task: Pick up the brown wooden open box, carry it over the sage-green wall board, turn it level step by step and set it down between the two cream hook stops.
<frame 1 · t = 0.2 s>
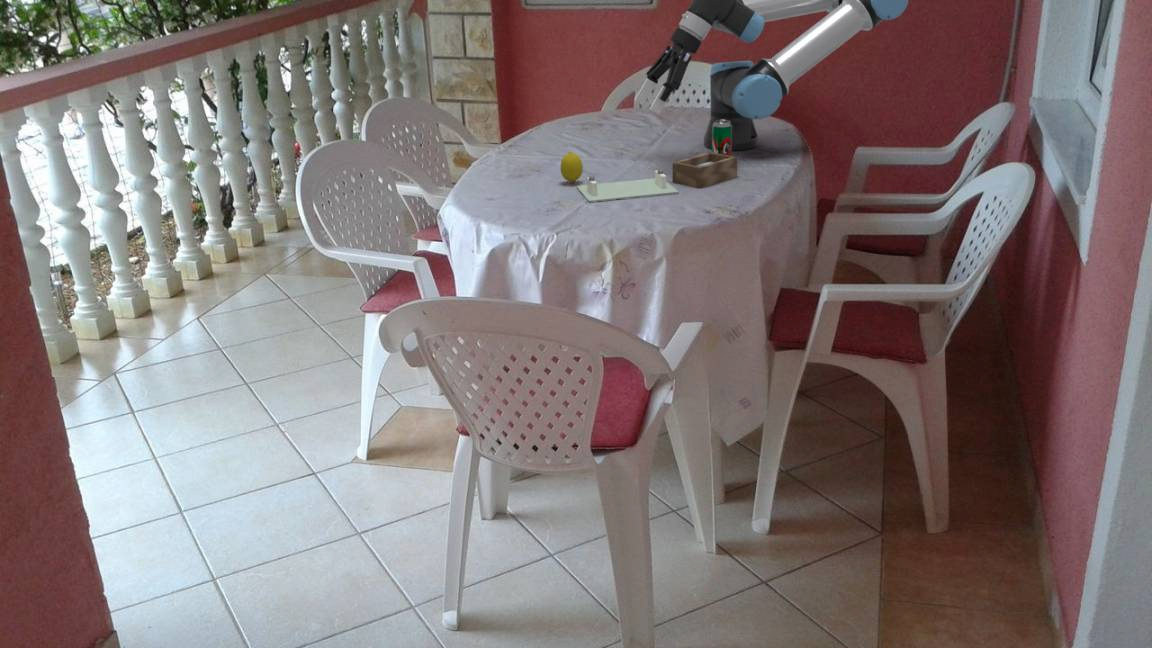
hand: (646, 107, 267), 16 cm above the table, tool tilted 35°, fingers open, 13 cm apart
lemon: (572, 184, 260), on the table
wall board: (626, 190, 251), on the table
brown wooden open box: (704, 179, 257), on the table
soda can: (721, 168, 268), on the table
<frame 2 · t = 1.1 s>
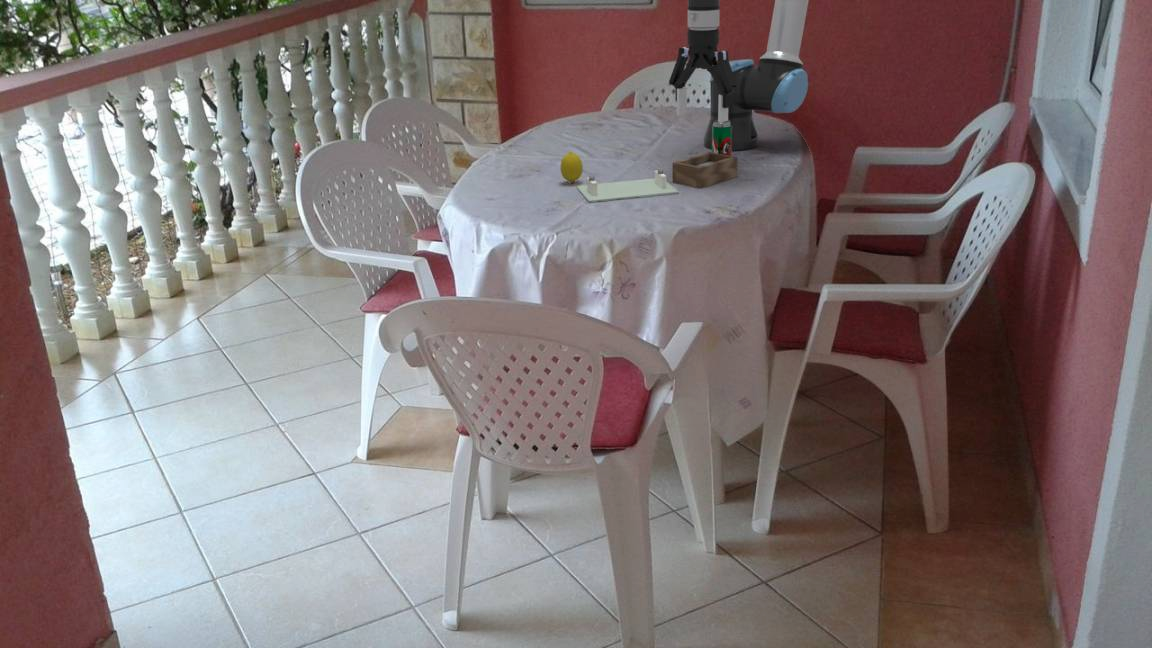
hand: (702, 118, 252), 15 cm above the table, tool pointing down, fingers open, 13 cm apart
nothing on the table moved.
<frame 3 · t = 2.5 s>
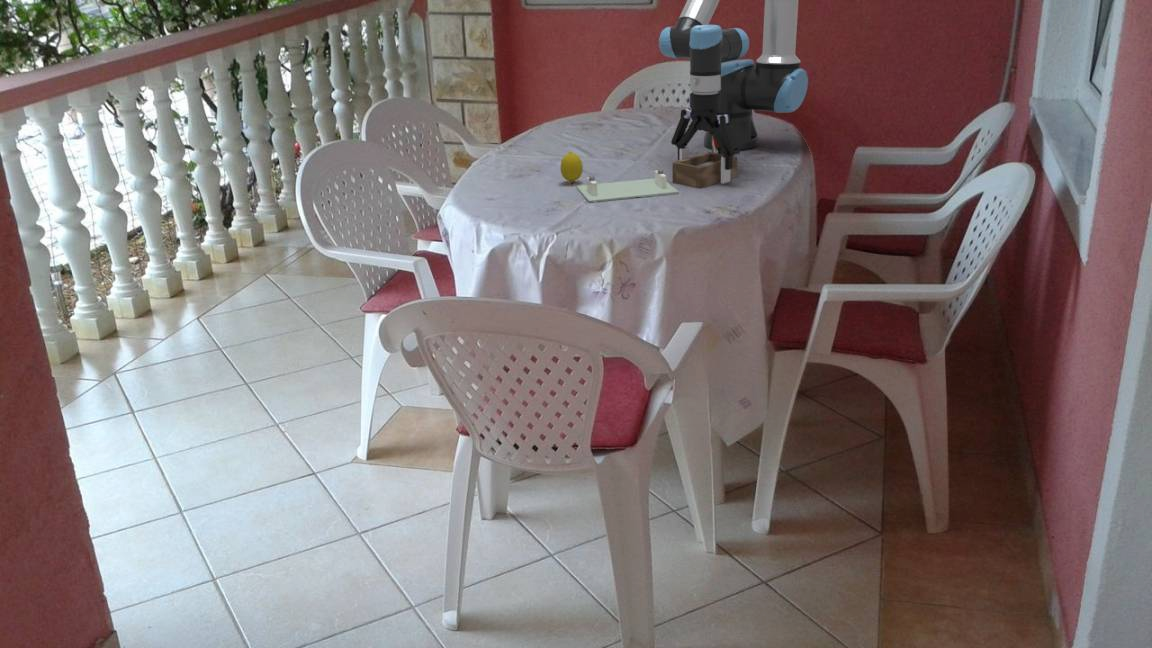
hand: (704, 178, 257), 0 cm above the table, tool pointing down, fingers open, 13 cm apart
nothing on the table moved.
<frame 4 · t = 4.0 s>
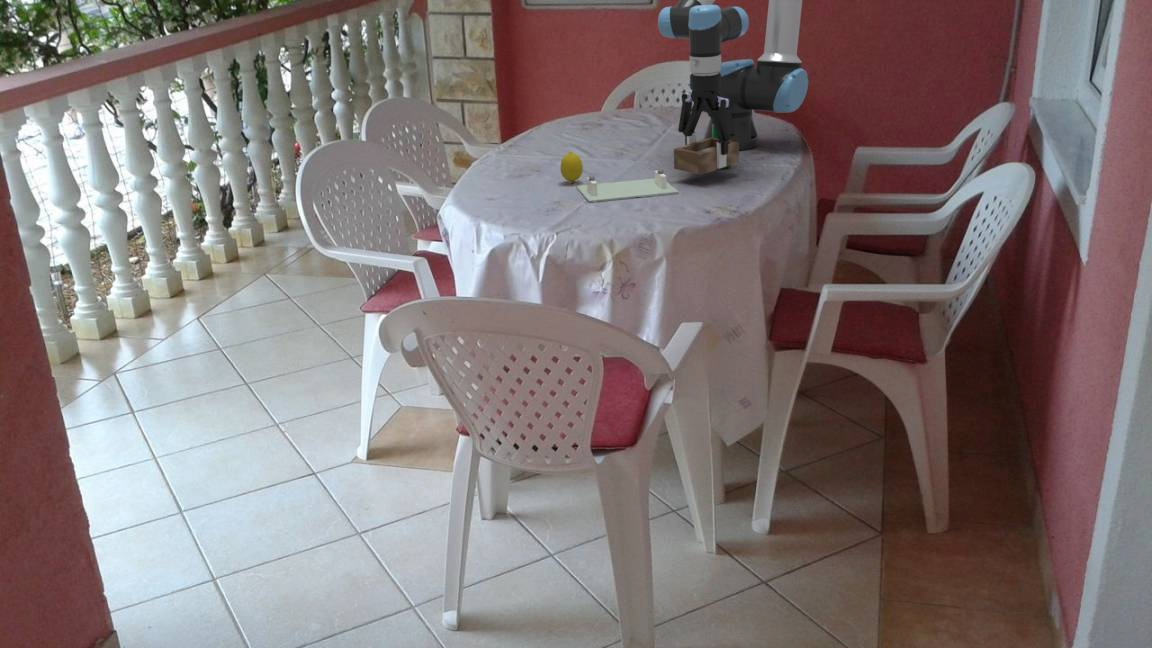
hand: (706, 164, 256), 4 cm above the table, tool pointing down, fingers closed on brown wooden open box, 9 cm apart
brown wooden open box: (706, 165, 257), point 3 cm above the table, touching gripper
everything else where it was.
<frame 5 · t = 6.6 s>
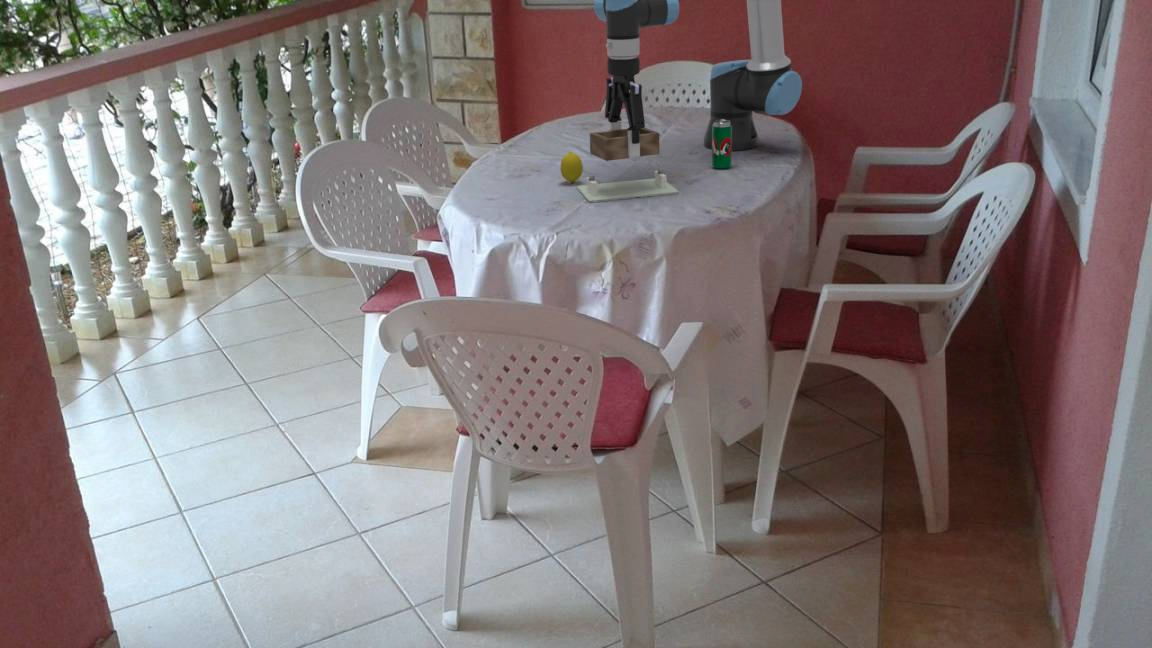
hand: (624, 152, 247), 9 cm above the table, tool pointing down, fingers closed on brown wooden open box, 9 cm apart
brown wooden open box: (624, 153, 247), point 9 cm above the table, touching gripper
everything else where it was.
when the fingers open (1 cm above the table, at t = 9.0 s): brown wooden open box stays where it is, resting on wall board.
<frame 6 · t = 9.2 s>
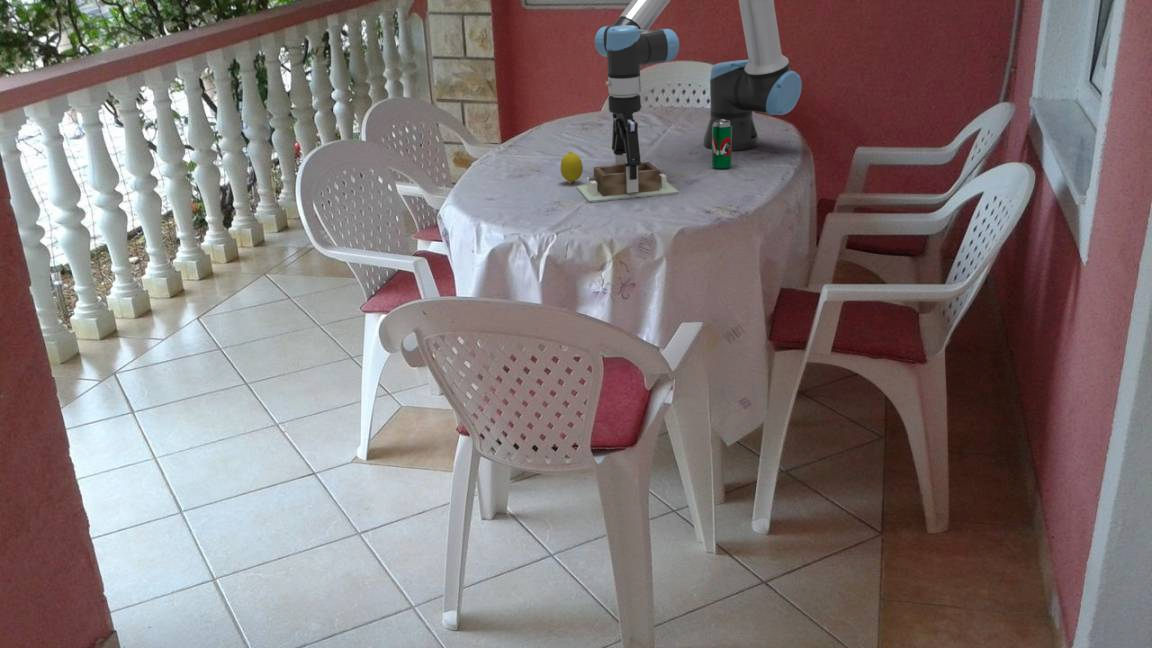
hand: (626, 186, 250), 1 cm above the table, tool pointing down, fingers open, 10 cm apart
brown wooden open box: (626, 188, 251), resting on wall board
everything else where it was.
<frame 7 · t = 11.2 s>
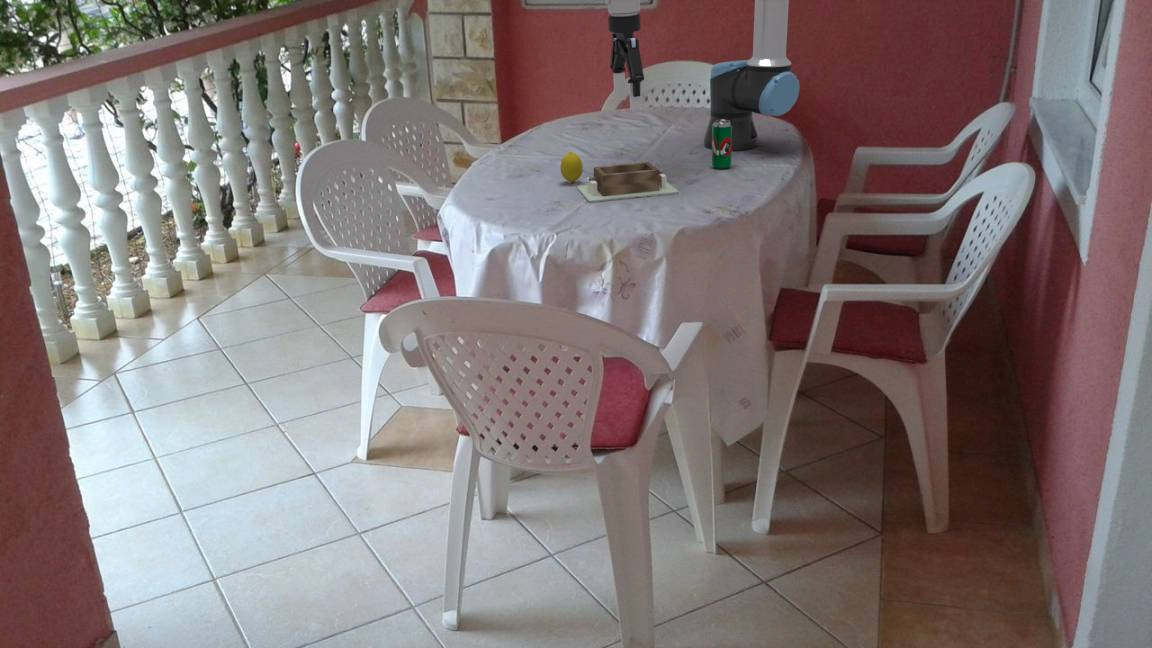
hand: (627, 105, 249), 20 cm above the table, tool pointing down, fingers open, 13 cm apart
nothing on the table moved.
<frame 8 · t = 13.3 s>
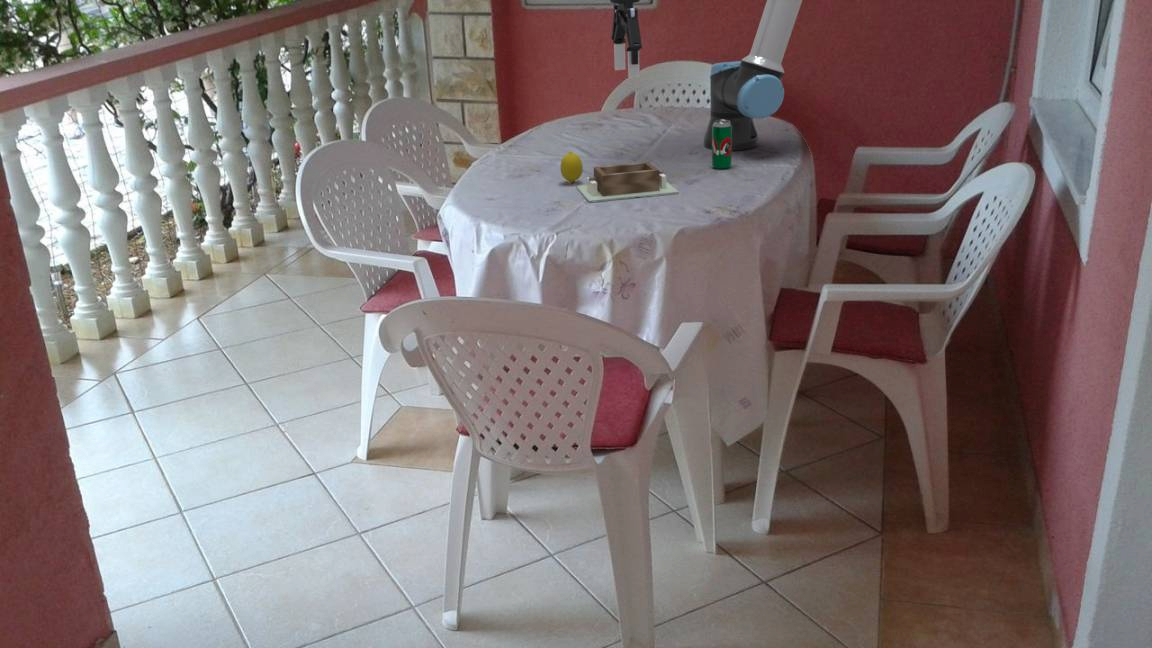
hand: (626, 73, 261), 25 cm above the table, tool pointing down, fingers open, 13 cm apart
nothing on the table moved.
at the end: brown wooden open box 0.0 cm off-centre on the wall board, point 0.5 cm above the wall board's base; brown wooden open box tilted 0°; the gripper is holding nothing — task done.
